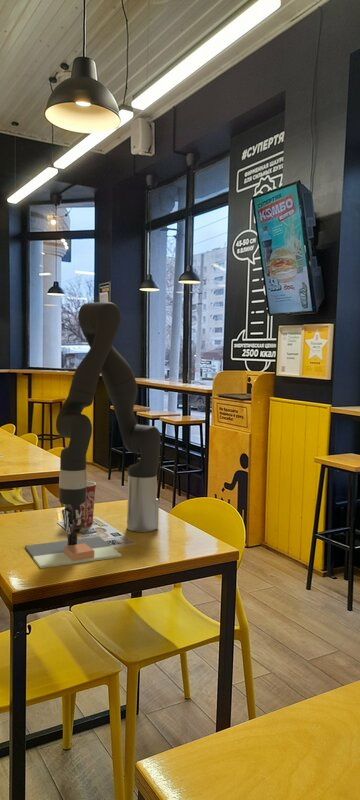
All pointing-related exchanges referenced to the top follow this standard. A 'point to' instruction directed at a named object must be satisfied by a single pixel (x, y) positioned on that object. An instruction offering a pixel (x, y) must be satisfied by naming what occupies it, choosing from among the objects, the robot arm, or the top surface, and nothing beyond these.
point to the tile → (78, 551)
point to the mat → (55, 555)
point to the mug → (88, 505)
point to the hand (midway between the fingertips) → (72, 546)
